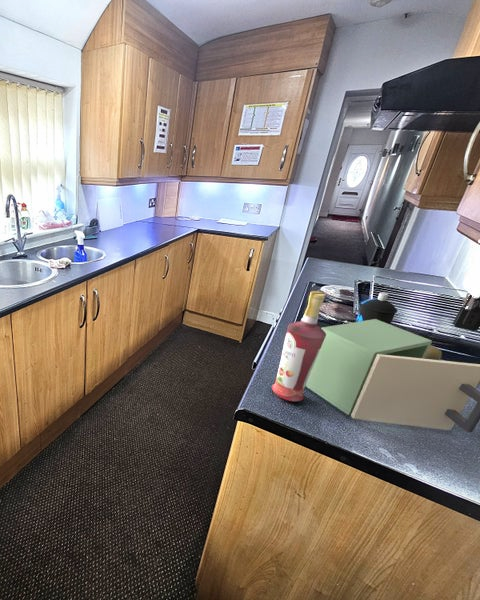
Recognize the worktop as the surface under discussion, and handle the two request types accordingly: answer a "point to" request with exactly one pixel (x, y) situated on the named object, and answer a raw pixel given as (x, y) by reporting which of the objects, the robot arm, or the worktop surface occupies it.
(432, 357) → the cork
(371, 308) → the aerosol can
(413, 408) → the door
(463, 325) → the robot arm
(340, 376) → the cupboard
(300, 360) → the liquor
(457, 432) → the worktop surface
